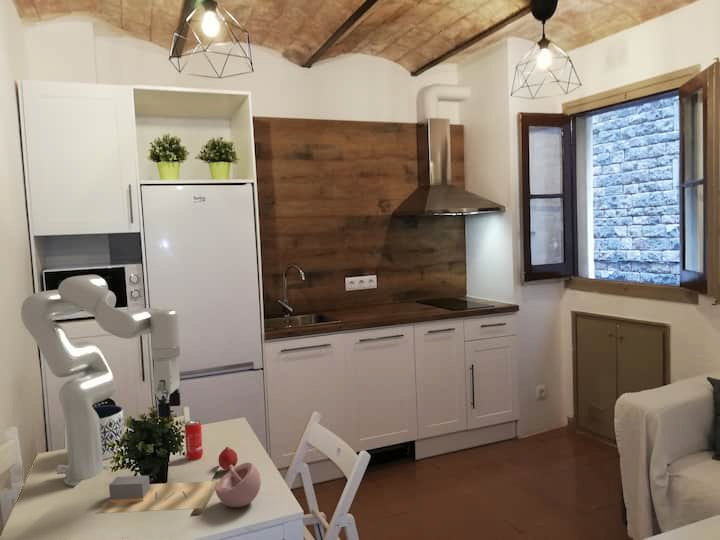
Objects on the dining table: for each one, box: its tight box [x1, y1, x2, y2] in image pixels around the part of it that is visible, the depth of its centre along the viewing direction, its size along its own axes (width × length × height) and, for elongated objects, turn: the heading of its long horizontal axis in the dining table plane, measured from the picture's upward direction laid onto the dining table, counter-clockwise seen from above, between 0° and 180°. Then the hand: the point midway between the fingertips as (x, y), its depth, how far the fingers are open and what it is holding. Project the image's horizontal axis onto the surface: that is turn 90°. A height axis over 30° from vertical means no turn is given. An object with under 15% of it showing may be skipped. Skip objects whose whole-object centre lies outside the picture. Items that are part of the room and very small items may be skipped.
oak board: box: [95, 480, 218, 515], centre depth 153 cm, size 28×16×2 cm, turn 90°
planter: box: [92, 404, 125, 461], centre depth 190 cm, size 16×16×14 cm
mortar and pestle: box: [215, 461, 261, 508], centre depth 149 cm, size 12×12×12 cm
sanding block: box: [108, 474, 151, 503], centre depth 153 cm, size 9×5×5 cm, turn 90°
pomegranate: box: [217, 446, 239, 472], centre depth 171 cm, size 6×6×8 cm
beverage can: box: [184, 419, 204, 461], centre depth 182 cm, size 5×5×12 cm
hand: (169, 411), depth 159 cm, fingers open, 9 cm apart
